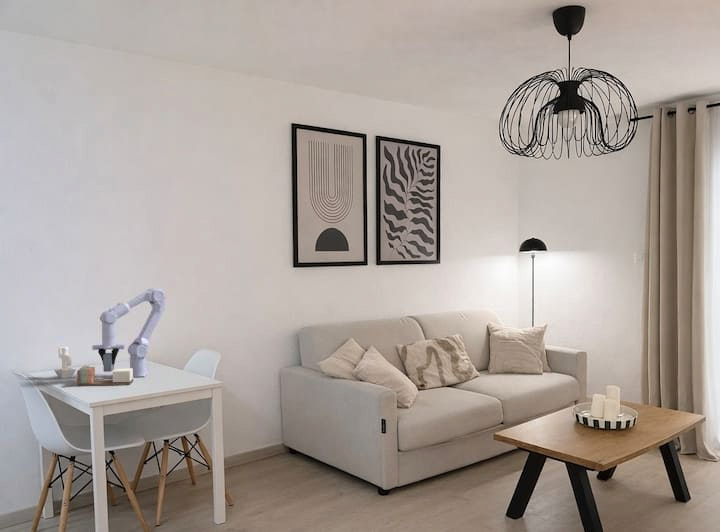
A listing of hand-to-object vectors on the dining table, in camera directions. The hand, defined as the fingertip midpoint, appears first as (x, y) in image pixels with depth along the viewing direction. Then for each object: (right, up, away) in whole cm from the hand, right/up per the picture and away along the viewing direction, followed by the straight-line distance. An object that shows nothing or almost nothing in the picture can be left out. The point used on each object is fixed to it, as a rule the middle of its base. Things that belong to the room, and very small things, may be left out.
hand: (108, 364), depth 298 cm
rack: (+2, -8, -9) cm, 12 cm away
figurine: (-23, -7, +5) cm, 25 cm away
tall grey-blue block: (0, -3, 0) cm, 3 cm away
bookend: (+10, -6, -7) cm, 14 cm away
